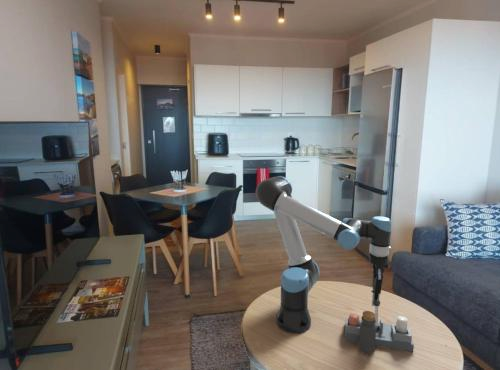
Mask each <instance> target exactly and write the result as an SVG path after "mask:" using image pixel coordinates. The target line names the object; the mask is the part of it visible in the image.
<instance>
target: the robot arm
mask: <svg viewBox="0 0 500 370" xmlns="http://www.w3.org/2000/svg"><path fill="white" fill-rule="evenodd" d="M292 193H293V185H292V182H291V181H290V180H289V179H288V178H286V177H285V176H282V175H278V176H277V175H276V176H273V177H270V178H267V179H264V180H262V181H261V182H259V183H258V185H257V186H256V188H255V196H256V199H257V201H258V202H259V203H260V204H261V205H262V206H263V207H265V208H266V209H269V210H270V211H272V212H273V213H274V216H275V219H276V223H277V226H278V229H279V231H280V234H281V237H282V240H283V244H284V246H285V249H286V253H287V256H288V261H287V266H288V268H286V269H285V270H283V272H282V274H281V277H280V305H279V307H278V312H277V314H276V318H275V319H276V320H275V322H276V326H278V328H280V329H281V330H283V331H284V332H287V333H292V334H300V333H304V332H306V331H308V330H309V329H310V328H311V326H312V319H311V314H310V312H309V308H308V304H309V303H308V302H309V299H308V298H309V293H310V291H311V289H312V288H313V287H314V285H315V284H316V283H317V282H318V279H319V277H320V268H319V266H318V264H317V263H316V262H315V261H314V260H313V258H312V256H311V255H309V254H308V253H307V250H306V247H305V244H304V240H303V238H302V235H301V232H300V228H299V225H298V222H299V223H301V224H304V225H305V226H307V227H309V228H310V229H314V230H315V231H317V232H318V233H321V234H323V235H325V236H327V237H328V238H331V239H333V240H335V241H337V242H338V244H339V246H340V247H341V248H343V249H344V250H352V249H354V248H355V247H357V246H358V245H359V244H360V241H361V239H367V240H370V242H369V254H368V255H369V256H368V258H369V259H368V262H369V263H370V264H372V285H371V286H372V290H371V293H372V295H371V297H372V299H371V307H375V306H374V305H373V300H374V299H378V300H379V301H380V295H381V294H382V284H383V280H384V266H387V265H388V264H389V257H390V256H389V254H390V250H391V249H392V247H391V246H390V244H391V235H392V220H391V219H390V218H389V217H386V216H382V215H381V216H377V215H376V216H373V217H372V218H371V220H365V219H357V218H352V217H351V218H348V217H345V218H343V219H342V221H341V220H338V219H337V218H334V217H332V216H331V215H329V214H327V213H324V212H322V211H320V210H319V209H316V208H313V207H312V206H309V205H308V204H306V203H304V202H301V201H299V200H297V199H295V198H294V197H292ZM297 221H298V222H297ZM379 307H380V306H378V308H379Z"/></svg>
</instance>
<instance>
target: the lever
mask: <svg viewBox="0 0 500 370" xmlns="http://www.w3.org/2000/svg"><path fill="white" fill-rule="evenodd" d="M373 305H374V306H373V307H374V314H375V315H376V316H375V319H376V323H375V325H376V329H377V330H379V326H378V323H379V307H380V305H381V300H380V299H379V300H378V299H374V300H373ZM378 306H379V307H378Z"/></svg>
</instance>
